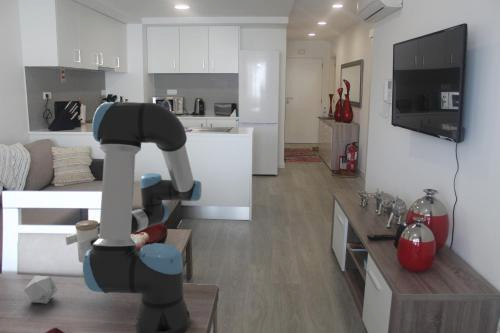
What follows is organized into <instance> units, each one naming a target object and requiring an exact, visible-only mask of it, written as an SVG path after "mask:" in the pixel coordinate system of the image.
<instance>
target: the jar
mask: <svg viewBox="0 0 500 333" xmlns="http://www.w3.org/2000/svg"><path fill="white" fill-rule="evenodd" d="M98 223H99V222H98V221H97V220H94V219H93V220H92V219H86V220H81V221H78V222H76V223H75V230H76V231H75V233H77V242H76V243H77V256H78V262H79V263H81V264H83V261H84V259H85V254H86V252H87V251H88V250H90V249H93V246H92V247H90V248H87V249H85V250H82V251H81V250H80V244H79V242H80V241H83V240H86V239H89V238H92V237H95V236H97V235H98ZM98 236H99V235H98Z"/></svg>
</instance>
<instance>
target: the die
mask: <svg viewBox="0 0 500 333" xmlns="http://www.w3.org/2000/svg"><path fill="white" fill-rule="evenodd" d="M23 291H24V293H25V294H26V295H27V297H28V299H29V300H30V302H31V303H35V304H45V305H46V304H48V303H49V302H50V300H51V298H53V296H54V295H55V294H56V292H57V291H58V287H57V285H56V284H55V283H54V281H53V279H52V278H51V276H46V275H45V276H43V275H34V276H33V277H32V279H31V280H30V282H29V283H28V284H27V285H26V286H25V287H24V289H23Z"/></svg>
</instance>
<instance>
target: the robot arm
mask: <svg viewBox="0 0 500 333" xmlns="http://www.w3.org/2000/svg"><path fill="white" fill-rule="evenodd" d="M91 131H92V136H93V138H94V140H95V141H96V142H98V144H99V147H98V148H100V150H102V151H103V154H104V155H103V156H104V157H103V169H102V184H101V185H102V186H101V198H100V199H101V202H100V205H101V206H100V217H99V218H100V219H99V222H98V235H99V236H98V235H97V236H95V237H92V238H89V239H86V240H83V241H80V242H79V244H80V250H81V251H82V250H85V249H87V248H90V247H92V246H93V249H90V250H88V251H87V252H86V254H85V259H84V261H83V263H82V273H83V274H82V276H83V279H84V280H83V281H84V282H85V285H86V286H87V288H88V289H89V290H90V291H92V292H97V293H103V294H108V293H111V294H112V293H115V294H139V295H140V296H141V303H140V307H139V310H138V315H136V316H137V317H136V320H135V326H136V327H135V328H136V332H137V333H186V332H187V331H188V329H189V328H190V325H191V315H190V312H189V310H188V307H187V304H186V302H185V298H184V264H183V255H182V253H181V251H180V250H179V249H178V248H176V247H175V246H173V245H170V244H166V243H159V242H158V243H157V242H155V243H154V242H153V243H148V244H145V245H143V246H142V247H141V248H140V249H139V250H136V249H137V248H136V246H137V243H136V242H135V241H134V240H133V238H132V234H136V233H137V232H140V231H143V230H145V229H148V228H151V227H154V226H156V225H159V224H161V223H164V222H165V221H167V220H168V218H169V215H170V210H169V208H168V207H169V206H167V204H166V203H164V202H163V201H179V202H180V201H183V202H187V201H188V202H194V201H195V202H198V201H200V199H201V197H202V182H201V181H199V180H196V179H194V176H193V172H192V168H191V164H190V159H189V156H188V152H187V147H186V146H187V145H186V143H187V140H188V139H187V132H186V129H185V126H184V125H183V123H182V121H181V120H180V119H179V118H178V116H176V114H175V113H173V112H172V111H171V110H170V109H168V108H167V107H165V106H163V105H161V104H159V103H155V102H137V101H136V102H135V101H133V102H130V101H129V102H128V101H113V102H112V101H111V102H110V101H109V102H103V103H101V104H100V105H99V106H98V107H97V109H96V111H95V112H94V114H93V119H92V130H91ZM143 143H144V144H149V143H151V144H156V147H157V148H158V149H159V150H160V151H161V153H162V155H163V156H162V157H163V158H164V162H165V165H166V168H167V171H168V174H169V177H170V179H163V177H162V175H161V174H160V173H155V172H153V173H151V172H150V173H145V174H143V175H142V176H141V177H140V187H139V188H140V197H141V208H139V209H135V210H133V202H134V201H133V200H134V188H135V187H134V184H135V169H136V168H135V166H136V155H137V154H138V153H139V152H140V151H141V150H142V144H143ZM75 243H77V232H75V233H72V234H69V235H66V236H65V244H66V245H67V246H68V245H71V244H75Z"/></svg>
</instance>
